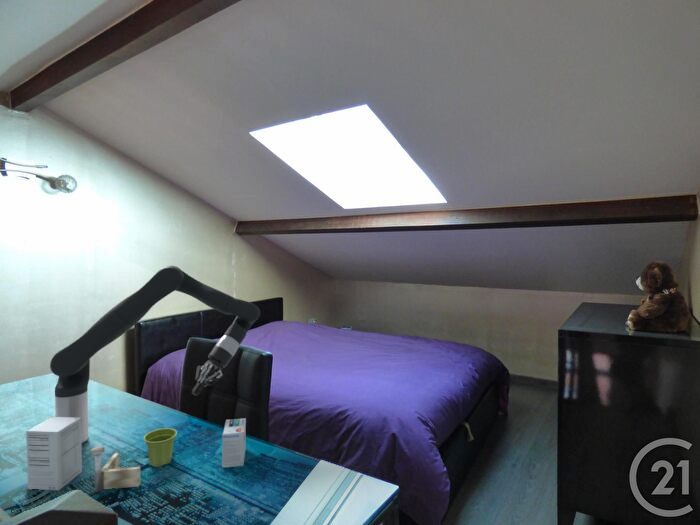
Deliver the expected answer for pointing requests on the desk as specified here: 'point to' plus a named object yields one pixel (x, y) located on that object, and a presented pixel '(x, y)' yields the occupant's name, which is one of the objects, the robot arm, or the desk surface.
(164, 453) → the plant pot
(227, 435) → the light bulb box
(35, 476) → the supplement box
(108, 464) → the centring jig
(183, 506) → the desk surface
